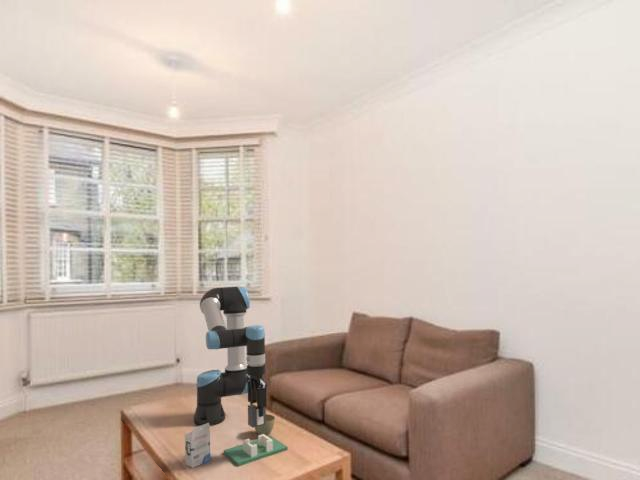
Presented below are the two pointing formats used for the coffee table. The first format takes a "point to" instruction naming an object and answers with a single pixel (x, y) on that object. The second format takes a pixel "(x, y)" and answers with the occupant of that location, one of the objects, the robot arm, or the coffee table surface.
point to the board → (254, 450)
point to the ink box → (197, 446)
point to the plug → (254, 415)
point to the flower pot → (266, 426)
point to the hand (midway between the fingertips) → (257, 422)
